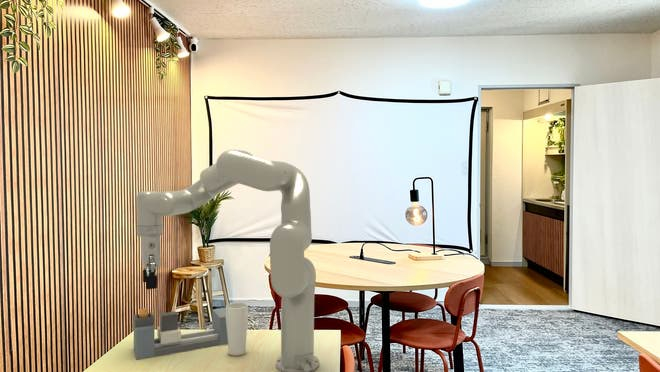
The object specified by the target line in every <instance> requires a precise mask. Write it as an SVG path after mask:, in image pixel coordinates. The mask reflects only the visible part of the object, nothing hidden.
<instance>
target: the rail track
mask: <svg viewBox="0 0 660 372" xmlns="http://www.w3.org/2000/svg"><path fill="white" fill-rule="evenodd" d="M211 312H212V313H211V314H212V316H211V317H212V318H211V319H212V321H211V322H212V323H211V325H212V328H211V329H208V330H207V329H206V330H200V331H194V332H188V333H187V332H186V333H181V341H178V342H172V343H166V344H161V343H160V341H159V338H158V337H156V338H155V317H154V314H153V312H152V311H151V312H149V317H145V318H139V313H137V314H136V313H135V314H133V351H134V354H135V359H136V361H139V360H143V359H149V358H154V357H160V356H161V357H162V356H167V355H171V354H177V353H178V354H179V353H182V352H188V351H195V350H199V349H206V348H211V347H216V346H224V345H228V339H227V328H226V307H222V308H221V307H220V308H215V309H214V308H213V309H212V311H211Z"/></svg>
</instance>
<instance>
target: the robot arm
mask: <svg viewBox="0 0 660 372" xmlns="http://www.w3.org/2000/svg"><path fill="white" fill-rule="evenodd" d="M239 184H240V185H243V186H247V187H249V188H252V189H255V190H259V191H263V192H275V191H276V192H277V191H279V192H280V193H281V201H280V203H281V204H280V213H281V214H280V215H281V217H280V219H281V221H280V222H281V223H280V224H279V225H278V226H276V227H275V229H274V230H273V232H272V234H271V235H270V240H269V262H270V263H269V264H270V270H269V271H270V283H271V286H272V289H273V290H274V292H275V293H276V295H278V296H279V297H281V304H280V305H281V306H280V307H281V308H280V310H281V311H280V341H281V342H280V355H281V356H279V357H278V358H276V361H275V367H276V368H277V370H278V371H280V372H314V371H315V370H317V369H318V368H319V366H320V360H319V358H318V357H317V356H316V355H315V329H314V328H315V291H316V280H317V279H316V278H317V274H316V268H315V265H314V263H312V261H311V260H310V259H309V258H307V257H305V251H306V250H307V249H308V248H309V247H310V246H311V243H312V240H313V239H312V238H313V237H312V236H313V235H312V234H313V233H312V215H311V196H310V195H311V194H310V185H309V182H308V179H307V177H306V175H304V172H302V171H301V170H300V169H299V168H297V167H296V166H294V165H292V164H290V163H288V162H285V161H277V160H268V159H265V158H260V157H257V156H253V154H251V152H248V151H246V150H240V149H227V150H225V151H223V152H222V153H221V154H219V156H218V157H217V160H216V163H213V164H212V165H210V166H208V167H206V168H204V169H203V170H202V171H201V172H200V175H199V180H197V181H196V182H195V183H193V184H191V185H189V186H188V187H185V188H183V189H181V190H167V191H156V190H146V191H145V190H142V191H139V192H138V193H137V194H136V195H137V196H136V237H140V252H141V254H140V256H141V264H142V267H143V269H142V282H143V283H145V289H146V290H154V289H157V288H158V271H157V268H158V269H159V268H162V267H161V266H162V263H161V262H162V260H161V258H162V257H161V255H162V254H161V239H160V237H161V236H163V235H164V226H163V225H164V222H163V221H164V217H171V216H178V215H183V214H188V213H190V212H192V211H194V210H196V209H198V208H200V207H201V206H203V205H206V204H207V203H208V202H210V201H211V200H212V199H214V198H215V197H216V196H218V195H220V194H221V193H223V192H225V191H227V190H228V189H230V188H232V187H234V186H237V185H239Z"/></svg>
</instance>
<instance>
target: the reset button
mask: <svg viewBox="0 0 660 372" xmlns="http://www.w3.org/2000/svg"><path fill="white" fill-rule="evenodd" d="M149 313H150V312H149V308H148V307H144V308H140V309H138V314H139V318H145V317H149Z"/></svg>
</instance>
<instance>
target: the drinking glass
mask: <svg viewBox="0 0 660 372" xmlns="http://www.w3.org/2000/svg"><path fill="white" fill-rule="evenodd" d="M248 306H249V305H248V303H246V302H231V303H228V304H226V306H225V308H226V328H227V339H228V344H227V352H228V354H229V355H230V356H232V357H236V356H237V357H238V356H242V355H244V354H246V350H247V349H246V348H247V347H246V346H247V334H248V333H247V332H248V319H249V309H248V308H249V307H248Z"/></svg>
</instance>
